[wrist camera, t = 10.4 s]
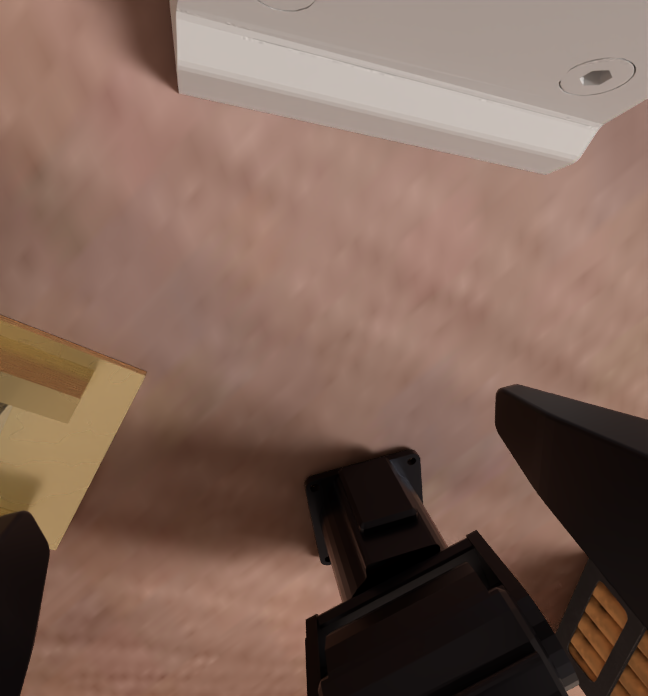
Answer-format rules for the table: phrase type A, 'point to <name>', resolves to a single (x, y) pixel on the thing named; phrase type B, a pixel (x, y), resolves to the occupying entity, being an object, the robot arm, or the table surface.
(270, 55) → the white rounded housing
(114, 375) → the strike pocket
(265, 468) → the table surface
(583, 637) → the ammunition clip
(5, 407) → the bar
